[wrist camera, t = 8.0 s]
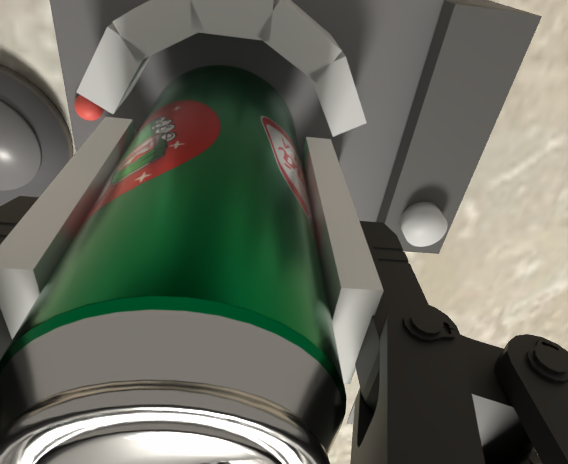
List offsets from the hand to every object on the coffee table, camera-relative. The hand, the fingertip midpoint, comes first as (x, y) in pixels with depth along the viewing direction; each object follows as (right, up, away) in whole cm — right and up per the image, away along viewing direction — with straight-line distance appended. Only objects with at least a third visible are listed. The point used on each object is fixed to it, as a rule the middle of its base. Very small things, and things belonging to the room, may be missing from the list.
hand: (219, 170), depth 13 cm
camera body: (+2, +5, +8) cm, 9 cm away
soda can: (0, +2, +2) cm, 3 cm away
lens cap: (-13, +3, +8) cm, 16 cm away
